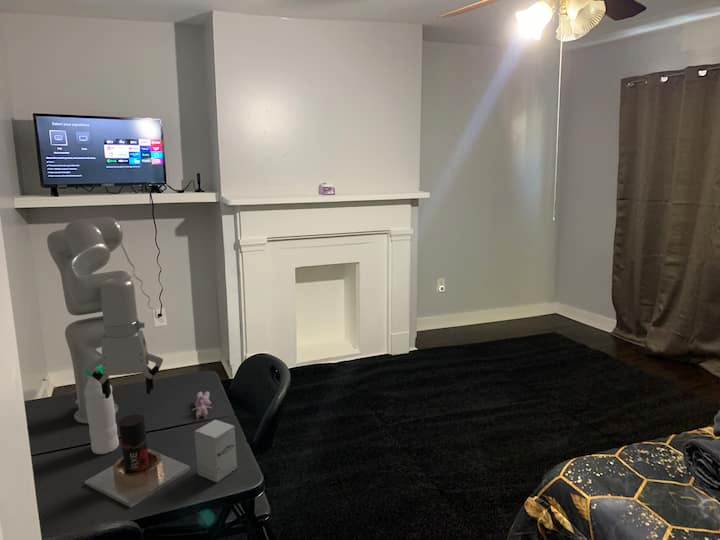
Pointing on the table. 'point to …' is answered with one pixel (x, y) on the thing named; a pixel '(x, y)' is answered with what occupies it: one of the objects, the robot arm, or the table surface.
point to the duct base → (140, 490)
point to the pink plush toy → (202, 404)
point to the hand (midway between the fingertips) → (129, 393)
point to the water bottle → (100, 416)
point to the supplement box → (215, 450)
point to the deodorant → (134, 444)
